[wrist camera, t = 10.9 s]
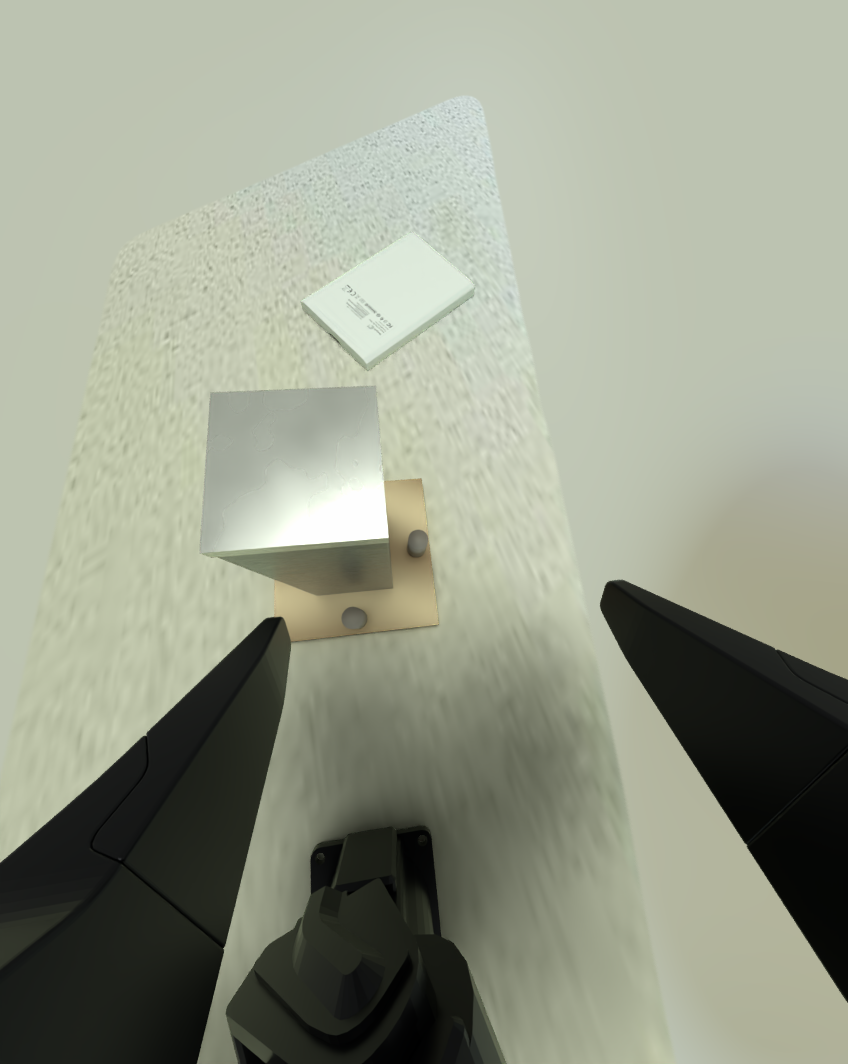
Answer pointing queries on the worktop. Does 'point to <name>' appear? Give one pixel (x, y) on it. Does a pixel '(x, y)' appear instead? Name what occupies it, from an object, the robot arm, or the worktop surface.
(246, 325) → the worktop surface
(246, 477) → the tower
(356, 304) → the external hard drive
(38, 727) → the worktop surface
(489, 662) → the worktop surface
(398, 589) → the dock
